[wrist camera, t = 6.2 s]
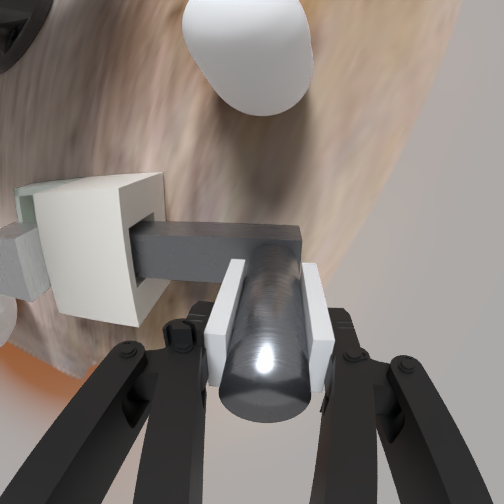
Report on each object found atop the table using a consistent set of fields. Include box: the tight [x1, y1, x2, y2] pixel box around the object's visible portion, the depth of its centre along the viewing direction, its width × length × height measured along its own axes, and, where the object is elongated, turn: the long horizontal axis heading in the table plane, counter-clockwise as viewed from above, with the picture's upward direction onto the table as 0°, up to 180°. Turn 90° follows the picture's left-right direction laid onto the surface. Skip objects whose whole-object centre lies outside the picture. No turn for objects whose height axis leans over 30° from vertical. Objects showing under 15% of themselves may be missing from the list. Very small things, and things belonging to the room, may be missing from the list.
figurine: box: [182, 0, 313, 116], centre depth 14 cm, size 7×8×12 cm
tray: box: [14, 177, 86, 222], centre depth 25 cm, size 8×10×3 cm
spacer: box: [0, 222, 51, 302], centre depth 18 cm, size 5×5×4 cm
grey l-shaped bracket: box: [128, 221, 311, 423], centre depth 16 cm, size 20×3×14 cm, turn 89°
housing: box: [33, 172, 171, 327], centre depth 22 cm, size 8×10×8 cm
